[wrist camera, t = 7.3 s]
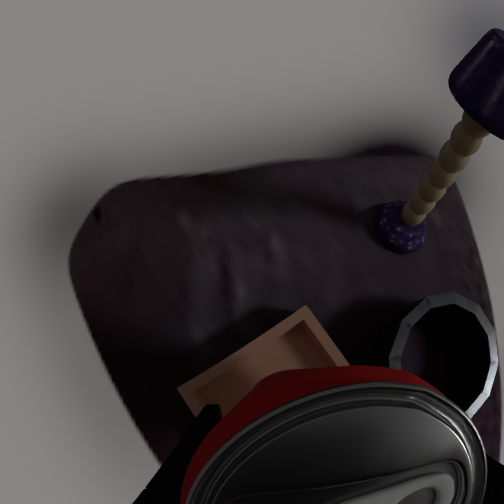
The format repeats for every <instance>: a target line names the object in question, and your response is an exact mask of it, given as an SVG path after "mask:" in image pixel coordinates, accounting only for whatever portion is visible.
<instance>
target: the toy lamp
mask: <svg viewBox="0 0 504 504" xmlns="http://www.w3.org/2000/svg"><path fill="white" fill-rule="evenodd" d="M448 82H449V88H450V91H451V93H452V95H453V96H454V98H455V100H456V101H457V102H458V104H459V105H460V106H461V107H462V108H463V110H464V113H463V116H462V121H460V122H459V123H457V125H455V127H454V128H453V130H452V133H451V137H450V140H448V141H447V142H446V143H445V144H444V145H443V147H442V148H441V150H440V154H439V156H438V157H437V158H436V159H435V160H434V161H433V162H432V164H431V165H430V167H429V171H428V173H427V174H425V175H424V176H423V178H422V179H421V181H420V184H419V187H418V188H417V189H416V190H415V191H414V192H413V194H412V196H411V198H410V200H409V201H408V202H407V201H401V200H397V201H393V202H390V203H388V204H386V205H385V206H383V207H382V208H381V209H380V211H379V212H378V214H377V216H376V221H375V224H376V231H377V234H378V236H379V238H380V240H381V241H382V242H383V243H384V244H385V245H386V246H387V247H388V248H389V249H391V250H393V251H395V252H397V253H402V254H410V253H413V252H415V251H416V250H418V249H419V248H420V247H421V246H422V244H423V242H424V240H425V237H426V233H427V226H426V221H425V217H426V214H427V213H429V212H430V211H431V210H432V209H433V208H434V206H435V204H436V201H438V200H440V199H441V198H442V197H443V196H444V194H445V192H446V189H447V187H449V186H450V185H452V184H453V182H454V181H455V179H456V177H457V174H458V172H460V171H461V170H463V169H464V167H465V166H466V165H467V163H468V161H469V158H470V155H472V154H474V153H475V152H476V151H477V150H478V149H479V147H480V146H481V144H482V140H483V137H485V136H487V135H488V134H489V133H491V134H493V135H495V136H496V137H498V138H500V139H502V140H504V31H503V30H501V29H497V28H494V29H491V30H490V31H488V32H487V33H486V34H485V35H484V36H483V37H482V38H481V40H480V41H479V42H478V43H477V44H476V45H475V46H474V47H473V48H472V49H471V50H470V52H469V53H468V54H467V55H466V56H465V57H464V58H463V60H461V61H460V63H459V64H458V65H457V66H456V67H455V68H454V70H453V71H452V72H451V74H450V76H449V80H448Z"/></svg>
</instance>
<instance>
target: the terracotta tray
mask: <svg viewBox="0 0 504 504" xmlns="http://www.w3.org/2000/svg"><path fill="white" fill-rule="evenodd" d="M337 366H349V363H348V362H347V360H346V359H345V358H344V356H343V355H342V353H341V352H340V351H339V349H338V348H337V347H336V345H335V344H334V342H333V341H332V340H331V338H330V337H329V336H328V334H327V333H326V331H325V330H324V329H323V327H322V326H321V325H320V323H319V322H318V320H317V319H316V318H315V316H314V315H313V314H312V312H311V311H310V309H309V308H308V307H307V305H305V306H303V307H302V308H301V309H299V310H298V311H296V312H295V313H293V314H292V315H291V316H289V317H288V318H286V319H285V320H283V321H282V322H280V323H279V324H277V325H276V326H274V327H273V328H271V329H270V330H269V331H267V332H266V333H264V334H263V335H261V336H260V337H258V338H256V339H255V340H253V341H252V342H250V343H249V344H247V345H246V346H244V347H243V348H241V349H240V350H238V351H236V352H235V353H233V354H232V355H230V356H229V357H227V358H225V359H224V360H222V361H221V362H219V363H217V364H216V365H214V366H213V367H211V368H209V369H208V370H206V371H204V372H203V373H201V374H200V375H198V376H196V377H195V378H193V379H191V380H190V381H188V382H186V383H184V384H183V385H181V386H179V387H178V388H177V390H178V391H179V393H180V394H181V396H182V397H183V399H184V400H185V402H186V404H187V405H188V407H189V408H190V410H191V411H192V413H193V414H194V416H195V417H197V416H198V414H199V413H200V412H201V410H202V409H203V407H204V406H205V405H206V404H219V405H220V407H221V412H222V417H223V418H224V417H225V416H226V415H227V414H228V412H229V411H230V410H231V409H232V408H233V407H234V406H235V405H236V404H237V403H238V402H239V401H240V400H241V399H242V398H243V397H244V396H245V394H246V393H247V392H248V391H249V390H250V389H251V388H252V387H253V386H254V385H255V384H256V383H257V382H259V381H260V380H262V379H263V378H265V377H266V376H268V375H271V374H273V373H276V372H279V371H283V370H289V369H307V368H324V367H337Z"/></svg>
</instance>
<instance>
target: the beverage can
mask: <svg viewBox="0 0 504 504" xmlns="http://www.w3.org/2000/svg"><path fill="white" fill-rule="evenodd" d="M486 484H487V458H486V452H485V448H484V444H483V441H482V438H481V436H480V434H479V432H478V430H477V428H476V426H475V425H474V423H473V422H472V420H471V419H470V418H469V417H468V415H467V414H466V413H465V412H464V411H463V410H462V409H461V408H460V407H459V406H457V405H456V404H455V403H454V402H452V401H451V400H449V399H448V398H446V397H445V396H444V395H443V394H442V393H441V392H440V391H438V390H437V389H436V388H435V387H433V386H432V385H430V384H429V383H427V382H426V381H424V380H422V379H421V378H419V377H417V376H416V375H414V374H412V373H410V372H408V371H404V370H399V369H393V368H387V367H379V366H365V365H349V366H337V367H324V368H307V369H289V370H283V371H279V372H276V373H273V374H271V375H268V376H266V377H265V378H263V379H262V380H260V381H259V382H257V383H256V384H255V385H254V386H253V387H252V388H251V389H250V390H249V391H248V392H247V393H246V394H245V396H244V397H243V398H242V399H241V400H240V401H239V402H238V403H237V404H236V405H235V406H234V407H233V408H232V409H231V410H230V411H229V412H228V414H227V415H226V416H225V417H224V418H223V419H222V420H221V421H220V422H219V423H218V424H217V425H216V426H215V427H214V428H213V429H212V430H211V432H210V433H209V434H208V435H207V436H206V437H205V439H204V440H203V442H202V443H201V445H200V446H199V447H198V449H197V451H196V452H195V454H194V456H193V458H192V460H191V462H190V464H189V466H188V469H187V471H186V474H185V477H184V481H183V485H182V490H181V500H180V504H482V502H483V499H484V495H485V490H486Z"/></svg>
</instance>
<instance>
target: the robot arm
mask: <svg viewBox="0 0 504 504" xmlns="http://www.w3.org/2000/svg"><path fill="white" fill-rule="evenodd" d="M222 419H223V417H222V412H221V407H220V405H219V404H206V405H205V406H204V407H203V409H202V410H201V412H200V413H199V414H198V416H197V417H196V419H195V420H194V422H193V423H192V424H191V426H190V427H189V429H188V430H187V431H186V433H185V434H184V436H183V437H182V438H181V440H180V441H179V443H178V444H177V445H176V447H175V448H174V450H173V451H172V452H171V454H170V455H169V456H168V458H167V459H166V460H165V462H164V463H163V465H162V466H161V467H160V469H159V470H158V471H157V473H156V474H155V475H154V477H153V478H152V479H151V481H150V482H149V483H148V484H147V486H146V489H144V490H143V491H142V492H141V493H140V495H139V496H138V497H137V499H136V500H135V501H134V502H133V503H132V504H180V500H181V490H182V485H183V481H184V477H185V474H186V471H187V469H188V466H189V464H190V462H191V460H192V458H193V456H194V454H195V452H196V451H197V449H198V447H199V446H200V445H201V443H202V442H203V440H204V439H205V437H206V436H207V435H208V434H209V433H210V432H211V430H212V429H213V428H214V427H215V426H216V425H217V424H218V423H219V422H220V421H221V420H222ZM486 458H487V484H486V490H485V495H484V499H483V502H482V504H504V465H502V464H501V463H499V462H498V461H496V460H495V459H494V458H492V457H491V456H490V455H488V454H487V453H486Z"/></svg>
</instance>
